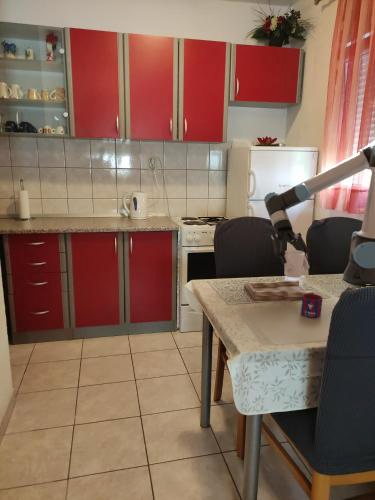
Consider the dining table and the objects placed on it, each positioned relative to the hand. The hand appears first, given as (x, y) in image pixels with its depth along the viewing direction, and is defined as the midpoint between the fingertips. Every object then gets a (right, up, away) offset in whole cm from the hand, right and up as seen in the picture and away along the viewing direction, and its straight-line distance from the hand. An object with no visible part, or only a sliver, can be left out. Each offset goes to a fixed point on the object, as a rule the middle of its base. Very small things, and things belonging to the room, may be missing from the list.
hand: (298, 269), depth 147 cm
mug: (0, -15, -16) cm, 22 cm away
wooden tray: (-7, -10, +5) cm, 13 cm away
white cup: (-1, -3, +4) cm, 5 cm away
